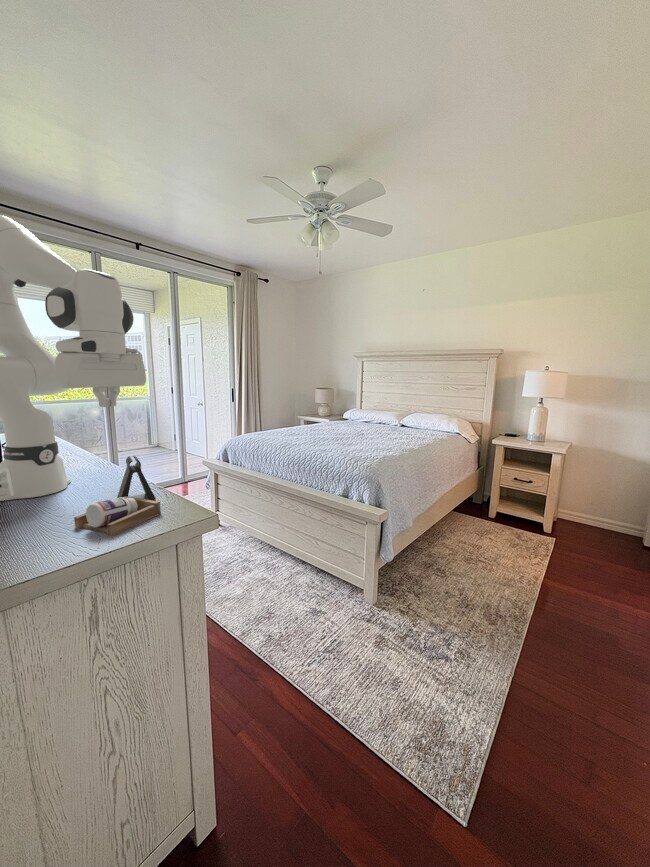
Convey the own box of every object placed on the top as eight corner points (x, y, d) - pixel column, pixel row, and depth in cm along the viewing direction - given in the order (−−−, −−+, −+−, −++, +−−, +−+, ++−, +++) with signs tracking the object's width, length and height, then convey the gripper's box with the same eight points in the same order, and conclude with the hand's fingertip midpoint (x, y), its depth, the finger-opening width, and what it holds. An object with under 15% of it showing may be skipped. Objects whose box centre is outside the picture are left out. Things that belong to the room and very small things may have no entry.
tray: (75, 527, 81) (73, 515, 81) (126, 507, 94) (125, 496, 93) (112, 535, 77) (110, 522, 77) (160, 513, 90) (159, 501, 90)
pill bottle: (86, 528, 80) (125, 517, 89) (102, 527, 78) (141, 515, 87) (83, 504, 80) (122, 495, 89) (99, 502, 78) (138, 493, 87)
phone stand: (118, 506, 94) (114, 462, 93) (116, 499, 99) (113, 457, 97) (155, 499, 99) (152, 458, 97) (152, 493, 104) (149, 453, 102)
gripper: (132, 348, 92) (135, 402, 94) (47, 342, 73) (53, 409, 76) (150, 349, 90) (153, 404, 92) (68, 342, 71) (74, 411, 73)
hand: (107, 406), depth 84 cm, fingers closed
